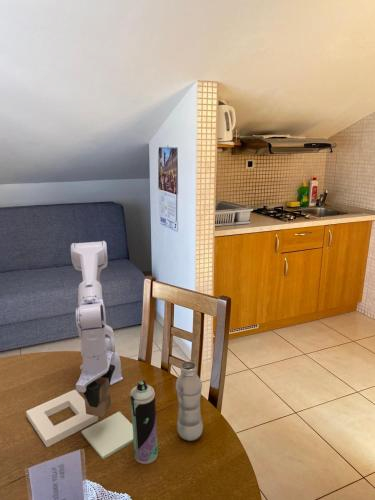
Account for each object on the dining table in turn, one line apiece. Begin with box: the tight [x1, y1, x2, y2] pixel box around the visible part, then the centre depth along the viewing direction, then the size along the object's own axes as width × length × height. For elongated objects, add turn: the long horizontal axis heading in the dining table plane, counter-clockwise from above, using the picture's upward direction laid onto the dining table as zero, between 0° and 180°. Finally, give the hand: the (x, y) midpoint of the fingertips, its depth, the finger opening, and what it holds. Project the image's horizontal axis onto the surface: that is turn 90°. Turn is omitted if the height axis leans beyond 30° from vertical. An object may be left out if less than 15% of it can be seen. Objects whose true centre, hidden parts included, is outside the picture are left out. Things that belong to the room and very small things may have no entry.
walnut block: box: [83, 377, 112, 418], centre depth 97 cm, size 4×4×8 cm
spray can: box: [129, 380, 159, 465], centre depth 90 cm, size 6×6×20 cm
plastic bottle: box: [175, 361, 204, 442], centre depth 96 cm, size 6×7×20 cm
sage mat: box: [81, 411, 134, 460], centre depth 99 cm, size 11×11×1 cm
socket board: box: [25, 388, 99, 448], centre depth 105 cm, size 14×14×2 cm
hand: (99, 399), depth 97 cm, fingers closed on walnut block, 4 cm apart
